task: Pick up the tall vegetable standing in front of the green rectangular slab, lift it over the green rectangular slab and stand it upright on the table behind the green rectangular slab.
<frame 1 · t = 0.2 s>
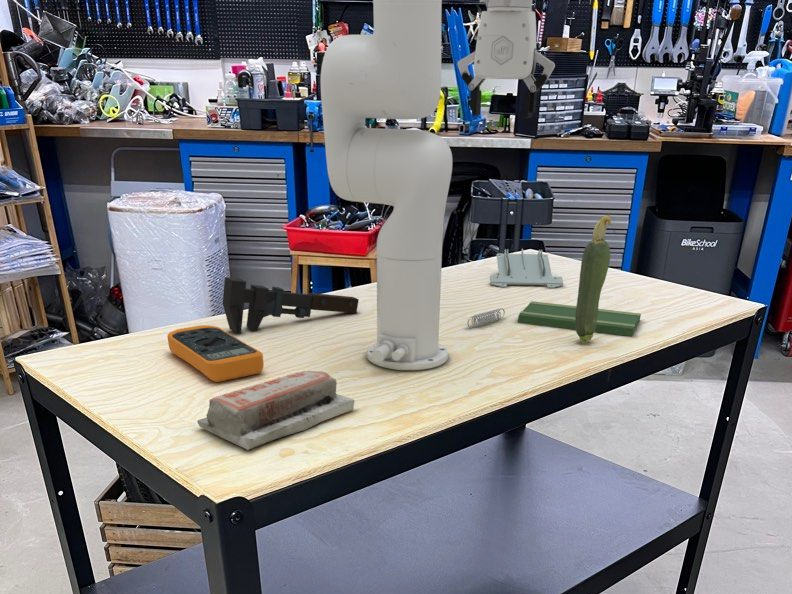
hand: (501, 116, 143), 31 cm above the table, tool pointing down, fingers open, 9 cm apart
green rectangular slab: (579, 321, 142), on the table
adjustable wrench: (295, 323, 139), on the table
multimeter: (214, 364, 120), on the table
vegetable: (584, 342, 132), on the table
metal bracket: (523, 280, 169), on the table
spring: (485, 324, 140), on the table
packaged product: (279, 421, 102), on the table
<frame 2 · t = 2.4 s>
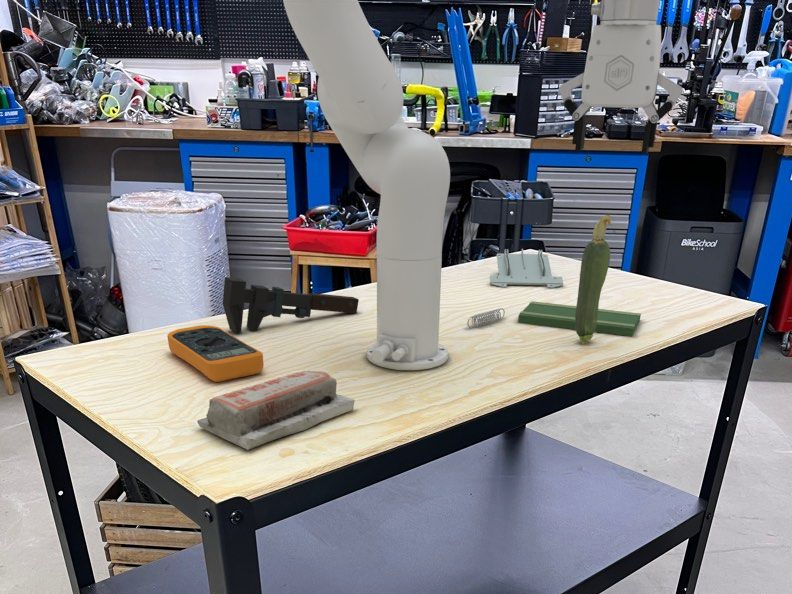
hand: (611, 151, 118), 29 cm above the table, tool pointing down, fingers open, 9 cm apart
nothing on the table moved.
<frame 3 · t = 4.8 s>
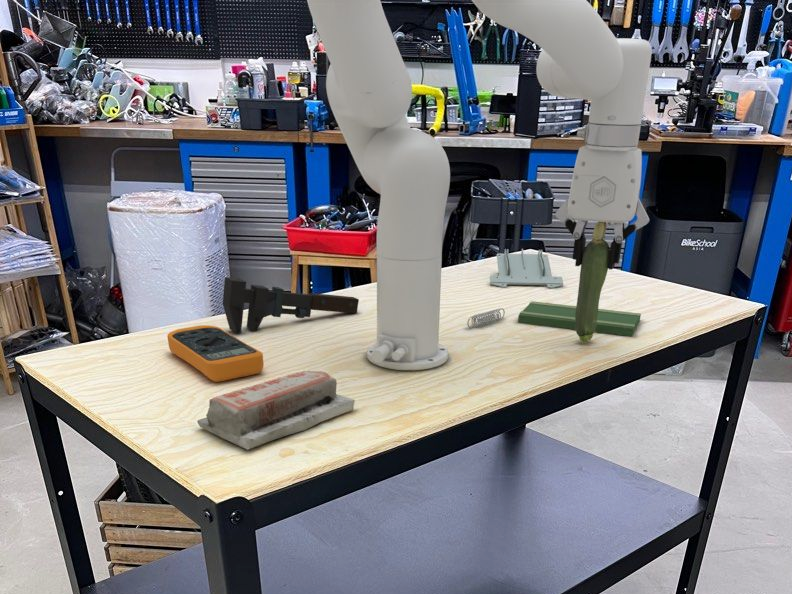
hand: (595, 264, 126), 12 cm above the table, tool pointing down, fingers closed on vegetable, 4 cm apart
vegetable: (584, 342, 132), on the table, touching gripper
everything else where it was.
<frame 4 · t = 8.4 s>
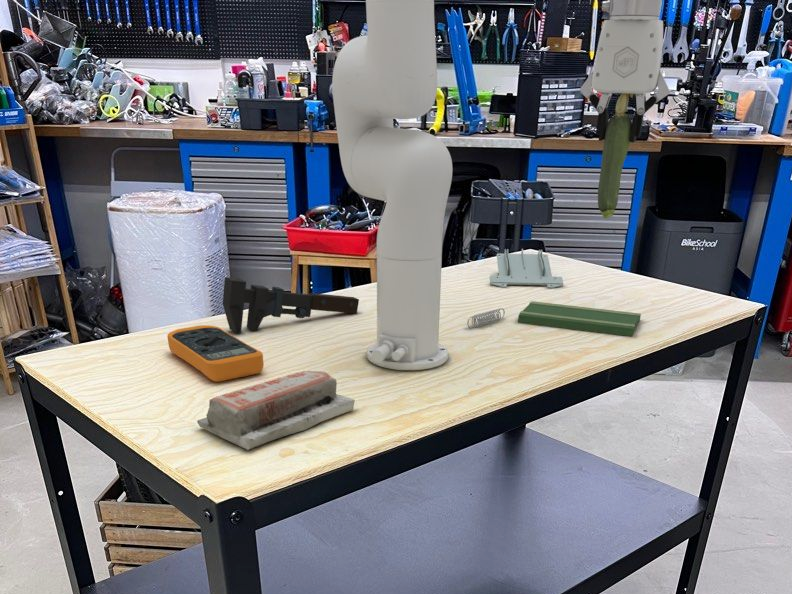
hand: (617, 139, 133), 29 cm above the table, tool pointing down, fingers closed on vegetable, 4 cm apart
vegetable: (606, 219, 139), point 16 cm above the table, touching gripper
everything else where it was.
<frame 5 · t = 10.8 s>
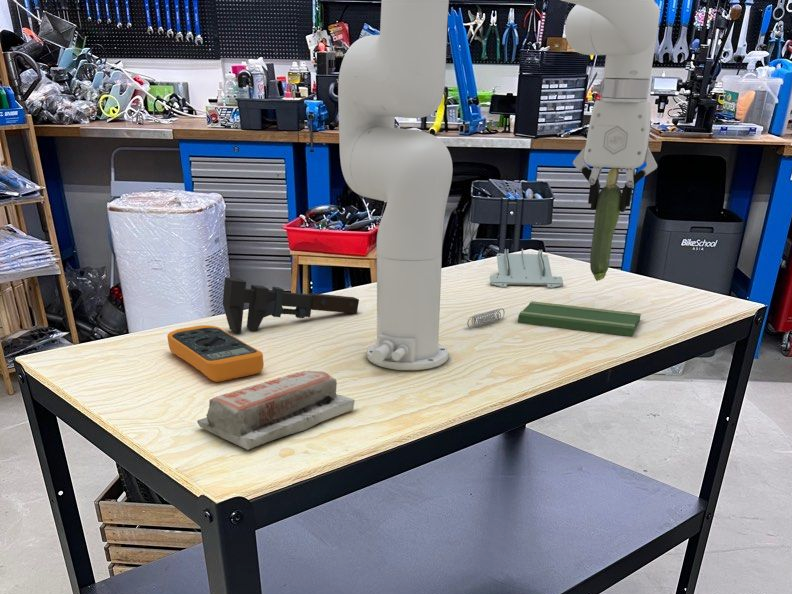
hand: (608, 208, 140), 18 cm above the table, tool pointing down, fingers closed on vegetable, 4 cm apart
vegetable: (598, 280, 147), point 5 cm above the table, touching gripper
everything else where it was.
when the fingers open (12 cm above the table, at t = 12.4 s): vegetable stays where it is, on the table.
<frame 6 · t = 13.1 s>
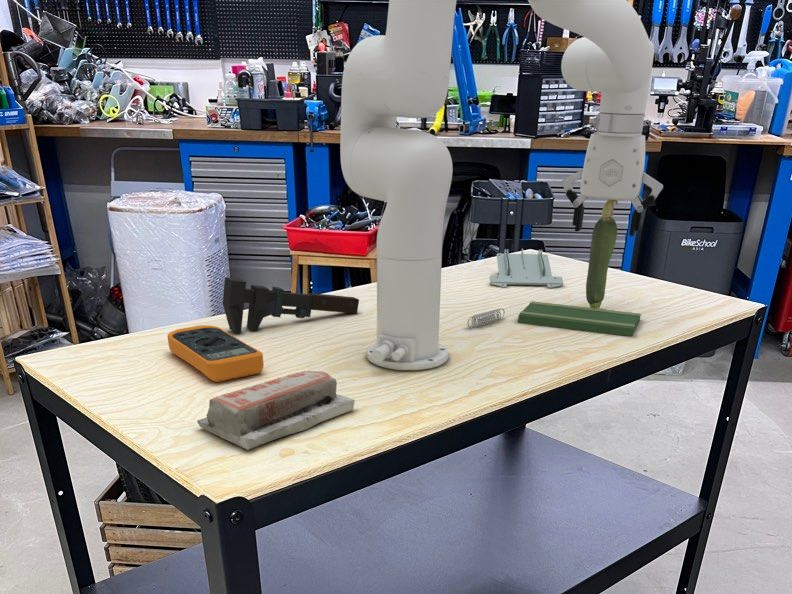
hand: (604, 232, 142), 14 cm above the table, tool pointing down, fingers open, 9 cm apart
vegetable: (594, 309, 150), on the table
everything else where it was.
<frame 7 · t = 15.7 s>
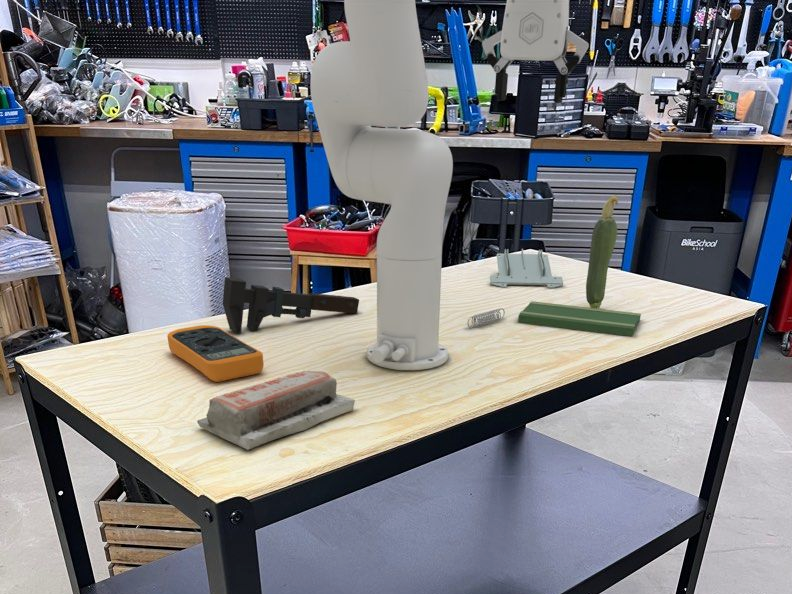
hand: (529, 101, 132), 34 cm above the table, tool pointing down, fingers open, 9 cm apart
nothing on the table moved.
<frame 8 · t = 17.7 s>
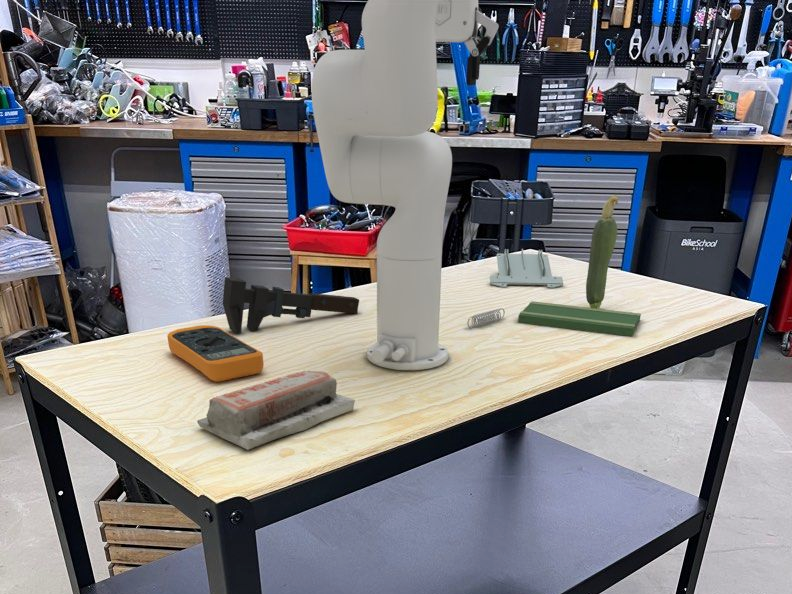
hand: (443, 84, 130), 36 cm above the table, tool pointing down, fingers open, 9 cm apart
nothing on the table moved.
at the end: vegetable inside the target area on the table beside the green rectangular slab (1.4 cm from its centre), on the table; vegetable tilted 0°; the gripper is holding nothing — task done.
